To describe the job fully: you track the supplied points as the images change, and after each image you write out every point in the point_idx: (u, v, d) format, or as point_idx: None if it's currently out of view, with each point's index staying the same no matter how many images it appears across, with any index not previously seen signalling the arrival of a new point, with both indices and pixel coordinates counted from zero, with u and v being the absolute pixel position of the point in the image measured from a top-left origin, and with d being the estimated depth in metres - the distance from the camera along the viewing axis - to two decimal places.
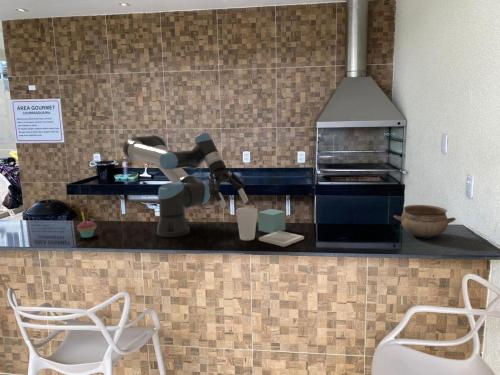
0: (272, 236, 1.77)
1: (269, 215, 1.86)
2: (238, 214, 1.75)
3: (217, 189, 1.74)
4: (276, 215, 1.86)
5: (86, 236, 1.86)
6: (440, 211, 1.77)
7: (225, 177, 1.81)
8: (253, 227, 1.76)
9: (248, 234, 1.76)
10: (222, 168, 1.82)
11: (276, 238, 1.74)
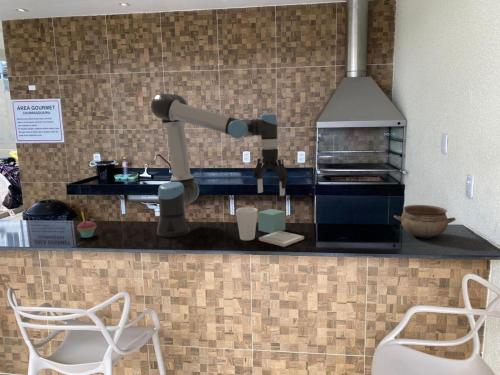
0: (272, 236, 1.77)
1: (269, 215, 1.86)
2: (238, 214, 1.75)
3: None
4: (276, 215, 1.86)
5: (86, 236, 1.86)
6: (440, 211, 1.77)
7: None
8: (253, 227, 1.76)
9: (248, 234, 1.76)
10: None
11: (276, 238, 1.74)
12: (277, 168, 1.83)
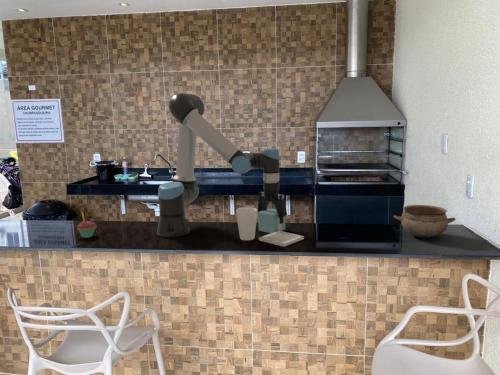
0: (272, 236, 1.77)
1: (269, 215, 1.86)
2: (238, 214, 1.75)
3: None
4: (276, 215, 1.86)
5: (86, 236, 1.86)
6: (440, 211, 1.77)
7: None
8: (253, 227, 1.76)
9: (248, 234, 1.76)
10: None
11: (276, 238, 1.74)
12: (277, 203, 1.87)
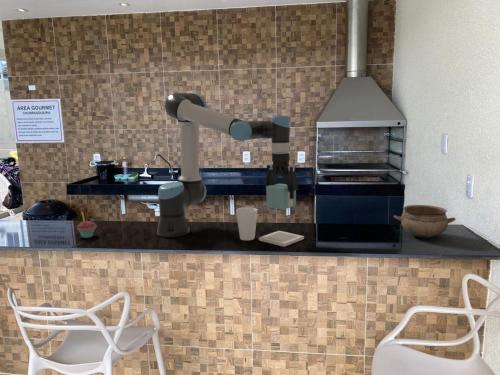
0: (272, 236, 1.77)
1: (278, 189, 1.68)
2: (238, 214, 1.75)
3: None
4: (286, 189, 1.69)
5: (86, 236, 1.86)
6: (440, 211, 1.77)
7: None
8: (253, 227, 1.76)
9: (248, 234, 1.76)
10: None
11: (276, 238, 1.74)
12: (287, 176, 1.70)
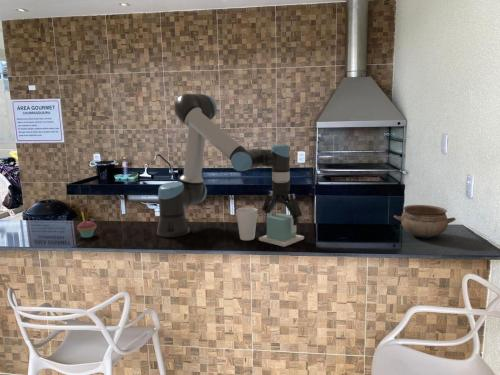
0: None
1: (279, 220, 1.70)
2: (238, 214, 1.75)
3: None
4: (286, 220, 1.71)
5: (86, 236, 1.86)
6: (440, 211, 1.77)
7: None
8: (253, 227, 1.76)
9: (248, 234, 1.76)
10: None
11: None
12: (289, 203, 1.71)
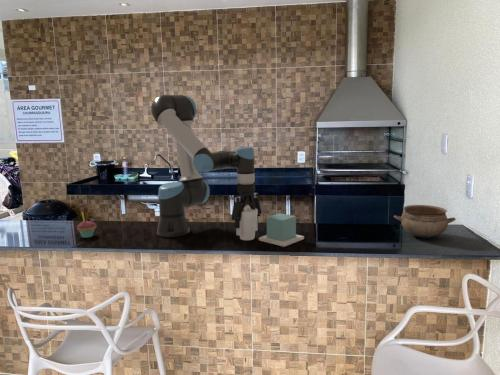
0: None
1: (279, 220, 1.70)
2: None
3: None
4: (286, 220, 1.71)
5: (86, 236, 1.86)
6: (440, 211, 1.77)
7: None
8: (253, 227, 1.76)
9: (248, 234, 1.76)
10: None
11: None
12: None
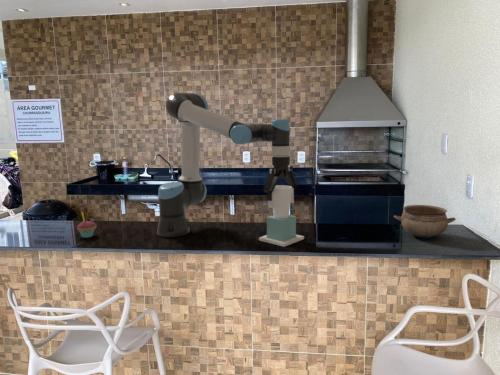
0: None
1: (279, 220, 1.70)
2: (273, 191, 1.70)
3: None
4: (286, 220, 1.71)
5: (86, 236, 1.86)
6: (440, 211, 1.77)
7: None
8: (288, 205, 1.72)
9: (283, 212, 1.71)
10: None
11: None
12: None
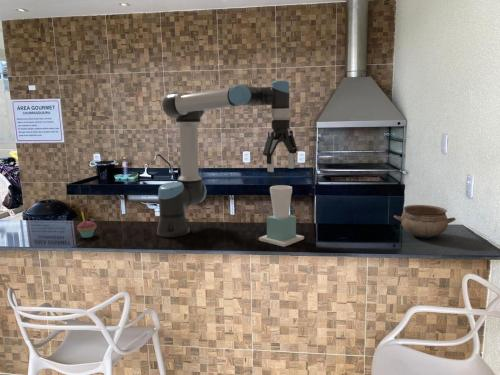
0: None
1: (279, 220, 1.70)
2: (273, 191, 1.70)
3: None
4: (286, 220, 1.71)
5: (86, 236, 1.86)
6: (440, 211, 1.77)
7: None
8: (288, 205, 1.72)
9: (283, 212, 1.71)
10: None
11: None
12: None
